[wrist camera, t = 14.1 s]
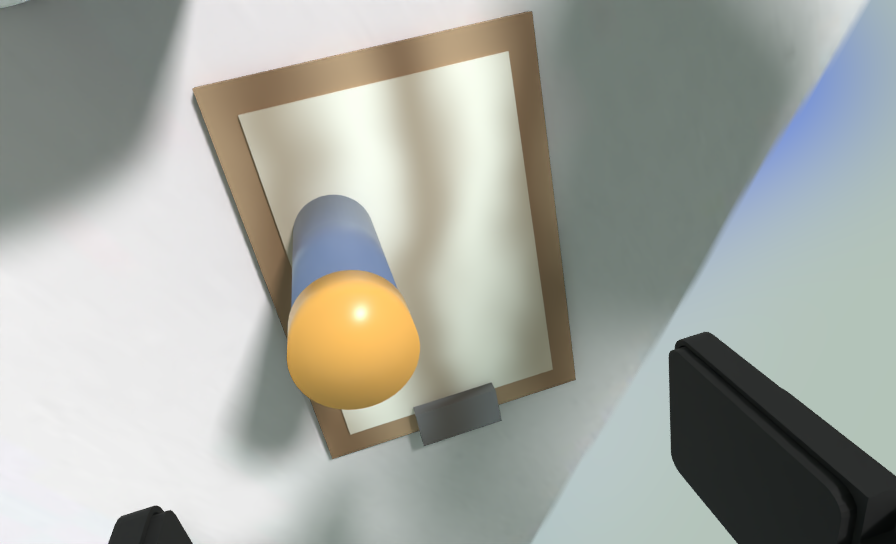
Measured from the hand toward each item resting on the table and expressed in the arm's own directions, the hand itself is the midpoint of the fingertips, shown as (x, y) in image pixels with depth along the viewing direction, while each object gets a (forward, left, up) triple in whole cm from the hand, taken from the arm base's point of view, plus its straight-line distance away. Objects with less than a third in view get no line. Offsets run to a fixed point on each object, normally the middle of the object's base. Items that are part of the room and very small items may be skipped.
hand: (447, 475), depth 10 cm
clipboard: (-3, +5, -21) cm, 21 cm away
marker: (+1, +2, -20) cm, 20 cm away
